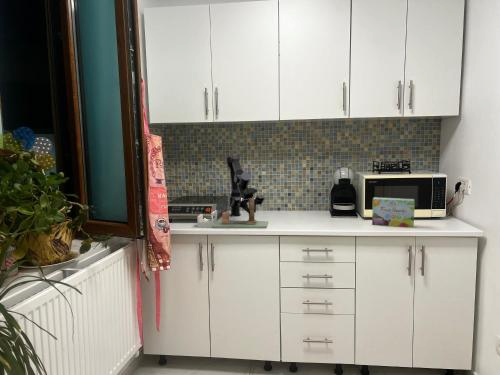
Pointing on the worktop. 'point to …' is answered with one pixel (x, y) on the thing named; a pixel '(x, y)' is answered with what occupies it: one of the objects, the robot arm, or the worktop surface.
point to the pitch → (230, 225)
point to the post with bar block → (251, 221)
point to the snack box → (393, 212)
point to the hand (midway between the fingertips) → (252, 212)
